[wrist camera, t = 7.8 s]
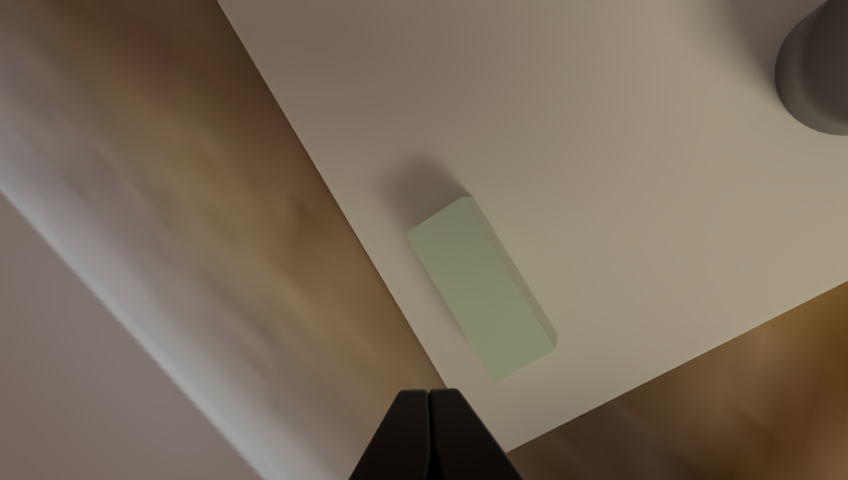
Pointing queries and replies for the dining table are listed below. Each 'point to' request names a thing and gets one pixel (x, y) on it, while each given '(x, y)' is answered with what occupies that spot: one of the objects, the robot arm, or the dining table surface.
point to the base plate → (572, 176)
